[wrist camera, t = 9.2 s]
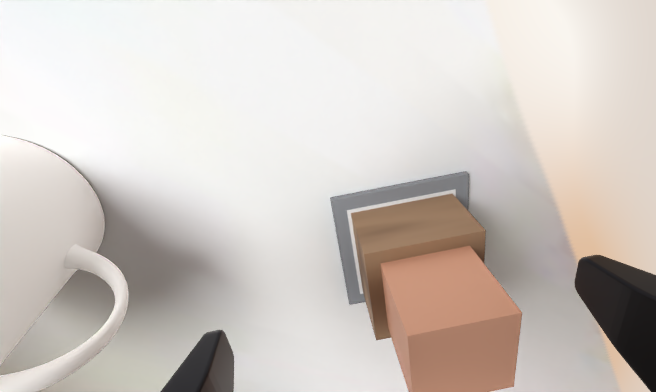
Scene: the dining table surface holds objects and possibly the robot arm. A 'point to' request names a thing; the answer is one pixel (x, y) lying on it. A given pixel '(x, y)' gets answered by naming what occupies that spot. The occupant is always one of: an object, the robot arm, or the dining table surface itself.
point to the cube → (451, 322)
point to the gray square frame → (382, 198)
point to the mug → (47, 254)
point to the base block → (408, 242)
